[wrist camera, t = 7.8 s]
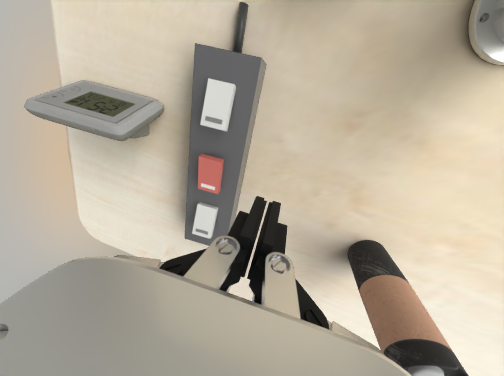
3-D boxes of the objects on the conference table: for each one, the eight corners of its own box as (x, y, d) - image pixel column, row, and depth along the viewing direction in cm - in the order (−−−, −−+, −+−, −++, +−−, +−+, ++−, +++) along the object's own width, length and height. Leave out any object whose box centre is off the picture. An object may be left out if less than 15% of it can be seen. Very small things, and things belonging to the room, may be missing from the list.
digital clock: (170, 105, 33) (123, 106, 24) (161, 149, 37) (117, 166, 28) (87, 62, 33) (5, 47, 23) (87, 112, 37) (17, 116, 27)
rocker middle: (202, 153, 29) (198, 156, 28) (223, 159, 29) (220, 162, 28) (200, 185, 33) (197, 188, 32) (220, 190, 32) (217, 194, 31)
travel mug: (343, 265, 41) (385, 391, 23) (348, 237, 38) (400, 359, 20) (382, 268, 40) (458, 405, 22) (390, 239, 36) (487, 373, 19)
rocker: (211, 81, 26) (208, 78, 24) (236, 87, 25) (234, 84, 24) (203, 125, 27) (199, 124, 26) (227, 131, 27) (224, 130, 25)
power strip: (212, 0, 26) (196, -21, 21) (276, 13, 25) (274, -6, 21) (194, 224, 44) (183, 238, 39) (231, 235, 43) (224, 250, 39)
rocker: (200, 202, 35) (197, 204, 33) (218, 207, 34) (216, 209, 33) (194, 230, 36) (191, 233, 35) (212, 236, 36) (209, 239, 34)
